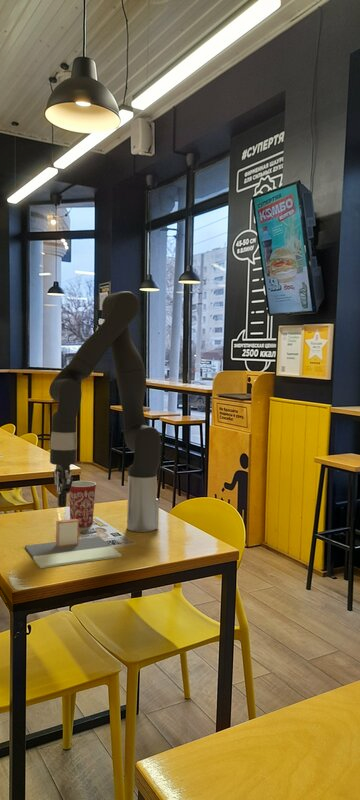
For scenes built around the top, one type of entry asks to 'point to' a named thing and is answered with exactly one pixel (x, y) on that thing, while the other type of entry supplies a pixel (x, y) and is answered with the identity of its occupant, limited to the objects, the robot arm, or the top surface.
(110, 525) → the top surface
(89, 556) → the mat
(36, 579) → the top surface
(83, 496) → the mug
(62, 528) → the tile
